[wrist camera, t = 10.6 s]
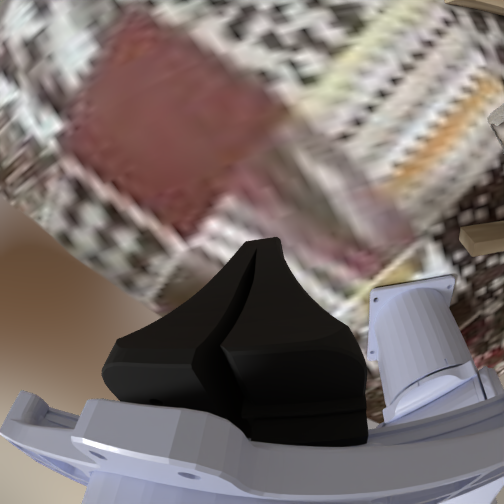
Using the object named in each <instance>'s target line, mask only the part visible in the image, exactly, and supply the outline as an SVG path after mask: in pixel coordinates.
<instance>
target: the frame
mask: <svg viewBox="0 0 504 504" xmlns="http://www.w3.org/2000/svg"><path fill="white" fill-rule="evenodd" d="M444 1H445V3H446V4H453V5H458V6H464V7H469V8H474V9H478V10H483V11H487V12H491V13H495V14H498V15H502V16H504V0H444ZM459 241H460V242H461V243H462V244H463V246H464V247H465V248H466V249H467V251H468V252H469V253H470V255H471V256H472V257H475V256H480V255H485V254H490V253H496V252H501V251H504V221H497V222H491V223H484V224H477V225H470V226H463V227H460V236H459Z"/></svg>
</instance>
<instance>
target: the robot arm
mask: <svg viewBox="0 0 504 504" xmlns="http://www.w3.org/2000/svg"><path fill="white" fill-rule="evenodd" d="M454 285H455V278H454V277H453V276H452V275H449V276H444V277H439V278H433V279H428V280H422V281H416V282H410V283H404V284H398V285H392V286H386V287H379V288H374V289H373V290H371V292H370V311H369V333H368V349H367V359H368V360H369V361H375V360H377V361H378V366H379V371H380V376H381V381H382V386H383V392H384V398H385V403H386V406H387V408H385V409H383V415H384V422H383V423H381V424H379V425H378V426H377V427H376V429H370V430H368V425H367V416H366V408H367V407H366V397H365V390H366V381H367V366H366V362H365V359H364V356H363V353H362V351H361V349H360V346H359V344H358V343H357V341H356V339H355V337H354V335H353V334H352V332H351V330H350V328H349V327H348V326H347V325H345V324H344V323H342V322H340V321H339V320H337V319H336V318H334V317H333V316H332V315H330V314H329V313H328V312H327V311H325V310H324V309H323V308H322V307H321V306H320V305H319V304H318V303H316V302H315V301H314V300H313V299H312V298H311V297H310V296H309V295H308V293H307V292H306V291H305V290H304V289H303V288H302V286H301V285H300V284H299V282H298V281H297V280H296V278H295V277H294V275H293V274H292V272H291V270H290V269H289V267H288V265H287V263H286V261H285V259H284V255H283V250H282V245H281V240H280V239H279V238H278V237H273V238H266V239H259V240H252V241H246V242H245V243H244V244H243V245H242V246H241V247H240V248H239V250H238V251H237V252H236V253H235V254H234V256H233V257H232V258H231V259H230V260H229V261H228V262H227V264H226V265H225V266H224V267H223V268H222V269H221V270H220V271H219V272H218V273H217V274H216V275H215V276H214V277H213V278H212V279H211V280H210V281H209V282H208V283H207V284H206V285H205V286H204V287H203V288H202V289H201V290H200V291H199V292H197V293H196V294H195V295H194V296H192V297H191V298H190V299H189V300H187V301H186V302H185V303H183V304H182V305H180V306H179V307H177V308H176V309H175V310H173V311H172V312H170V313H169V314H167V315H165V316H164V317H162V318H160V319H159V320H157V321H155V322H153V323H151V324H150V325H148V326H146V327H144V328H142V329H140V330H138V331H135V332H133V333H131V334H129V335H127V336H124V337H122V338H119V339H117V341H116V343H115V345H114V347H113V348H112V350H111V352H110V354H109V356H108V358H107V360H106V362H105V364H104V366H103V368H102V377H103V380H104V382H105V384H106V385H107V387H108V388H109V389H110V391H111V392H112V393H113V394H114V395H115V396H116V397H117V398H118V399H119V400H120V401H115V400H108V399H89V400H87V402H86V404H85V406H84V408H83V411H82V413H81V415H80V416H79V415H75V414H71V413H68V412H64V411H61V410H57V409H54V408H51V407H49V406H48V404H47V403H46V402H45V401H44V400H43V399H41V398H40V397H39V396H37V395H36V394H33V393H30V392H27V391H24V390H21V391H20V393H19V394H18V397H17V398H16V400H15V402H14V404H13V405H12V407H11V409H10V411H9V413H8V415H7V417H6V419H5V421H4V423H3V425H2V426H1V429H0V435H1V436H3V437H4V438H5V439H6V440H8V441H9V442H10V443H12V444H13V445H14V446H16V447H17V448H18V449H19V450H21V451H22V452H24V453H25V454H26V455H28V456H29V457H31V458H32V459H34V460H35V461H36V462H38V463H40V464H42V465H44V466H46V467H48V468H50V469H51V470H53V471H56V472H57V473H60V474H61V475H63V476H65V477H68V478H70V479H72V480H74V481H76V482H78V483H80V484H83V485H85V486H87V489H86V492H85V495H84V498H83V501H82V504H497V501H496V495H497V494H498V493H499V492H500V490H501V489H502V488H503V486H504V389H503V387H502V384H501V382H500V380H499V377H498V375H497V373H496V371H495V369H492V368H488V367H487V366H484V367H483V368H482V369H480V370H479V371H478V369H477V368H476V366H475V364H474V361H473V359H472V356H471V354H470V352H469V349H468V347H467V345H466V343H465V340H464V338H463V336H462V334H461V332H460V330H459V327H458V325H457V323H456V321H455V319H454V317H453V315H452V313H451V311H450V309H449V307H450V302H451V298H452V294H453V289H454ZM374 298H377V299H374Z"/></svg>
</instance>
